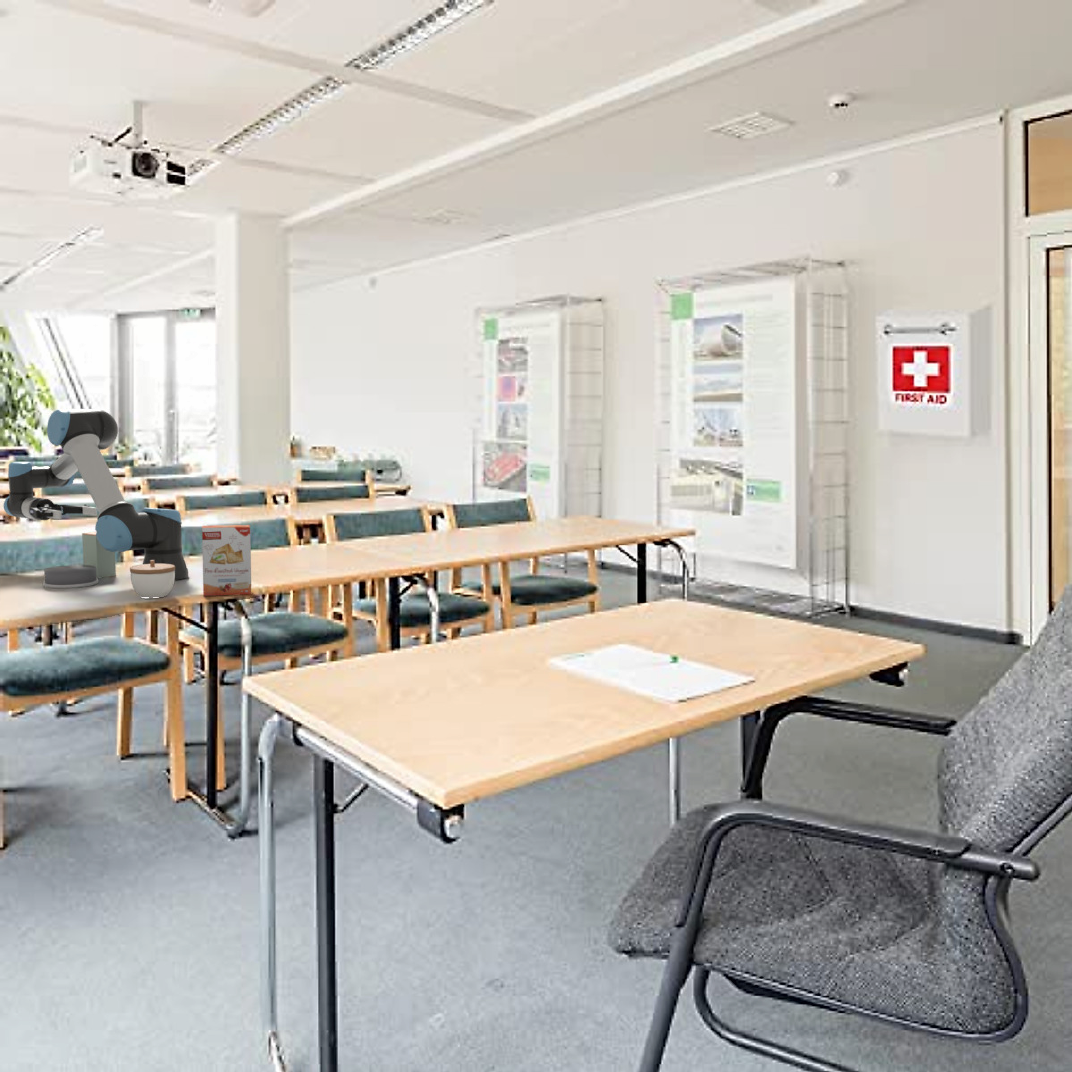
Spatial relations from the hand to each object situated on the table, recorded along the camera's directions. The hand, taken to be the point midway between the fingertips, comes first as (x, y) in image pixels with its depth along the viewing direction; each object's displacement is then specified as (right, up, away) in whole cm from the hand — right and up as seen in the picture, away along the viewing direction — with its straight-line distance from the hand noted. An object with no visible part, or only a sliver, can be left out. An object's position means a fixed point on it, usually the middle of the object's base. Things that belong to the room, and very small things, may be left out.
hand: (78, 513), depth 351 cm
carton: (+8, -21, -2) cm, 23 cm away
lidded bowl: (+40, -26, -40) cm, 63 cm away
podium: (+6, -23, -19) cm, 31 cm away
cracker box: (+61, -25, -35) cm, 75 cm away
